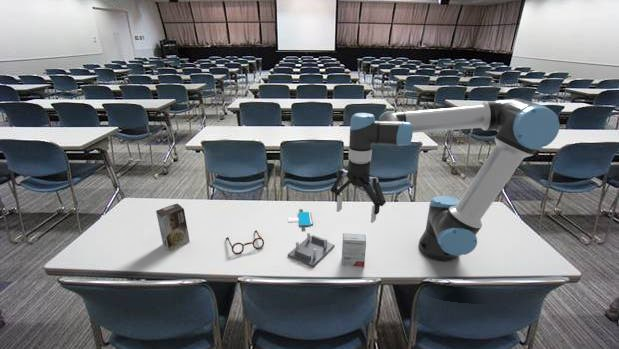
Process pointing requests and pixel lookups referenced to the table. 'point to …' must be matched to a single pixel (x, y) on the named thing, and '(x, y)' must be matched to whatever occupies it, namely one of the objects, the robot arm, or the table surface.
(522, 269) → the table surface
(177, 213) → the coffee box
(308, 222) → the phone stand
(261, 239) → the glasses
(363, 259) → the ink box
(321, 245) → the cradle
